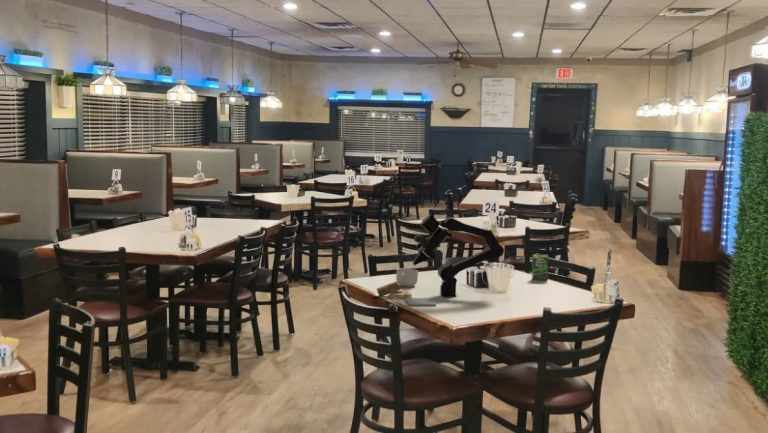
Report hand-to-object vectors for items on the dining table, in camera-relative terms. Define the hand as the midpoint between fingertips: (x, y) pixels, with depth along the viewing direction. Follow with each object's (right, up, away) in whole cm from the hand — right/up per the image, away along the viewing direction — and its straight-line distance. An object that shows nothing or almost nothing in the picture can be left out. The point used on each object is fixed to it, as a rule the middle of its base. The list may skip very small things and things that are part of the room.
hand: (413, 264), depth 343 cm
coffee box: (+67, -11, +45) cm, 82 cm away
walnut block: (-12, -11, 0) cm, 16 cm away
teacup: (-3, -12, +23) cm, 26 cm away
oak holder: (-6, -15, +1) cm, 16 cm away
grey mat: (+3, -16, -12) cm, 20 cm away
